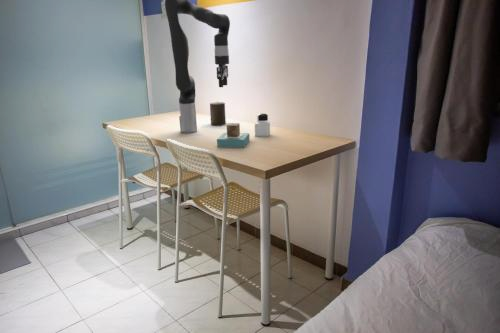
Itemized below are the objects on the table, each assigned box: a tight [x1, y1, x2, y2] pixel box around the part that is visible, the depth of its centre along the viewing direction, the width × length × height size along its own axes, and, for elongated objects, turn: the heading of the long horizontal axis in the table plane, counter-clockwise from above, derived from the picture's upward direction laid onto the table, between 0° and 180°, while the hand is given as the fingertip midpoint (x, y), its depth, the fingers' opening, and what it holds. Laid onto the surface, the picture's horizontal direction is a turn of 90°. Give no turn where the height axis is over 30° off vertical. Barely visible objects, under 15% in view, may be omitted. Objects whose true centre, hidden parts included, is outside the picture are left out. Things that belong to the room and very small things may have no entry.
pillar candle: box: [209, 101, 227, 126], centre depth 242 cm, size 10×10×15 cm
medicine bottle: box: [254, 113, 271, 138], centre depth 210 cm, size 7×7×12 cm
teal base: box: [216, 132, 250, 148], centre depth 195 cm, size 14×14×4 cm
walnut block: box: [226, 122, 241, 137], centre depth 193 cm, size 6×6×6 cm
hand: (223, 86), depth 201 cm, fingers open, 8 cm apart
